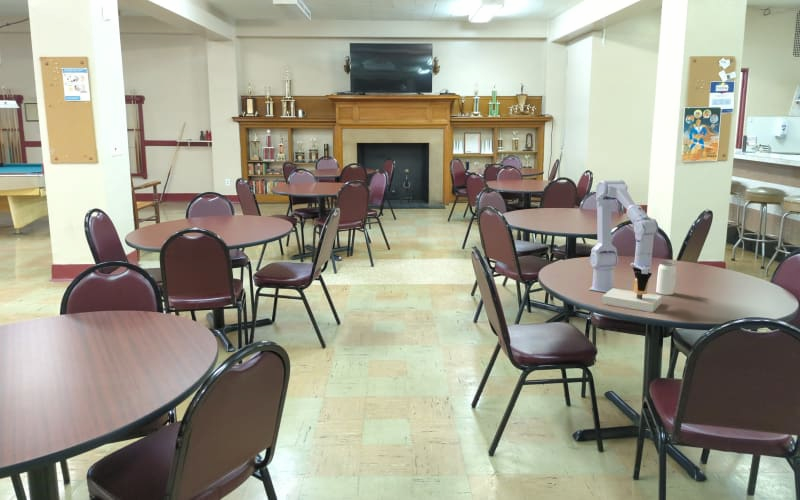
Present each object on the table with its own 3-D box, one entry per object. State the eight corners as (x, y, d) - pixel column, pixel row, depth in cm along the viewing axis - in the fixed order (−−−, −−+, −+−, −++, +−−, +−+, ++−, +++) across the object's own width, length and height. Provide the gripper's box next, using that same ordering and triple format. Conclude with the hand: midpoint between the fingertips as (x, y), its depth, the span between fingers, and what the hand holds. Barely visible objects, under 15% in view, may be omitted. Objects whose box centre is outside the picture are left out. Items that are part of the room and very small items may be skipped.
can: (672, 291, 252) (676, 262, 249) (674, 296, 246) (677, 266, 243) (655, 290, 254) (658, 261, 251) (656, 294, 248) (659, 264, 245)
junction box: (612, 295, 246) (613, 280, 244) (661, 303, 236) (662, 287, 235) (601, 303, 234) (603, 288, 233) (652, 312, 224) (654, 296, 223)
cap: (641, 290, 233) (642, 277, 232) (649, 293, 229) (651, 280, 228) (631, 291, 232) (632, 278, 231) (639, 294, 228) (640, 281, 227)
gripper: (629, 247, 235) (626, 283, 238) (634, 255, 222) (630, 293, 224) (649, 249, 234) (646, 284, 237) (655, 257, 220) (652, 294, 223)
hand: (640, 288), depth 230 cm, fingers closed on cap, 5 cm apart
